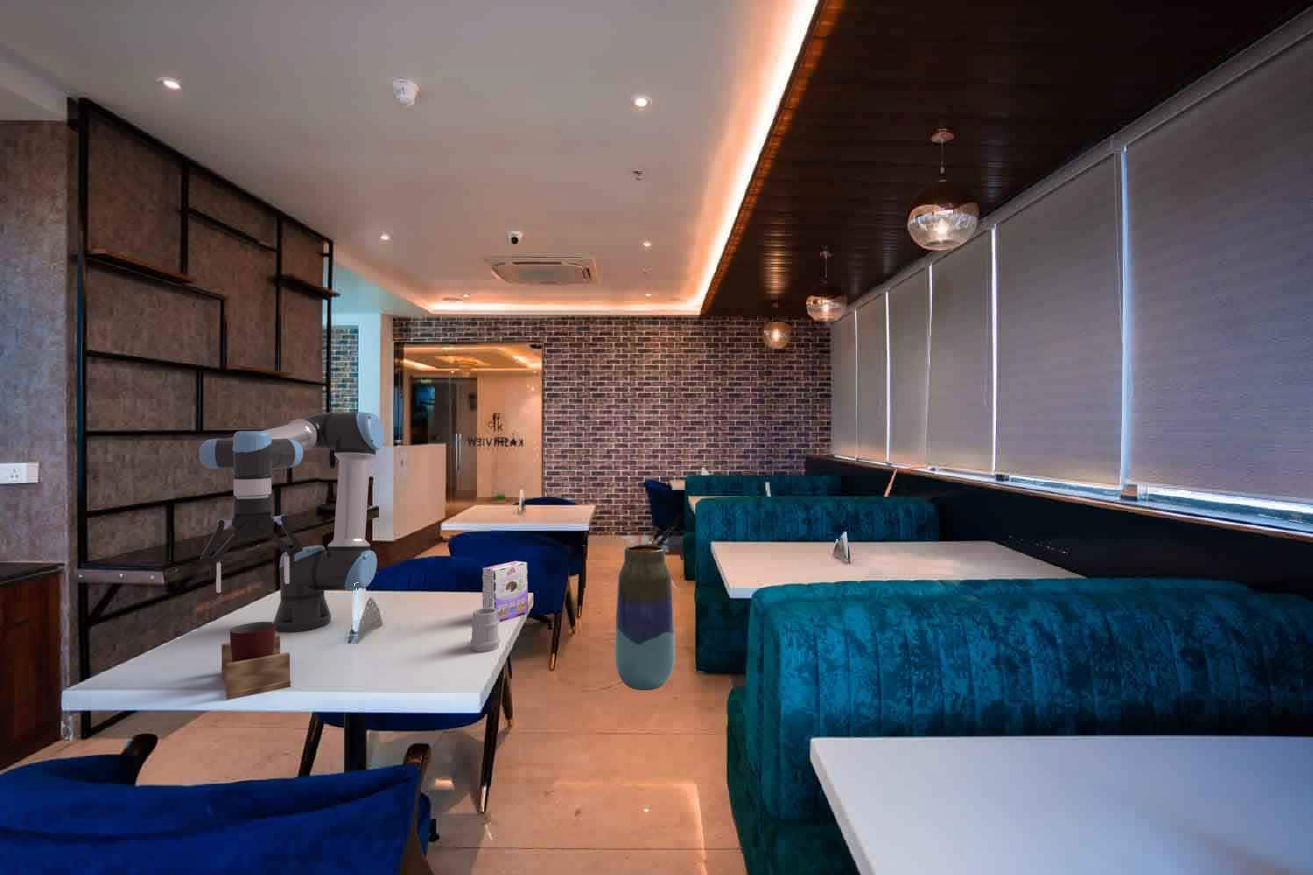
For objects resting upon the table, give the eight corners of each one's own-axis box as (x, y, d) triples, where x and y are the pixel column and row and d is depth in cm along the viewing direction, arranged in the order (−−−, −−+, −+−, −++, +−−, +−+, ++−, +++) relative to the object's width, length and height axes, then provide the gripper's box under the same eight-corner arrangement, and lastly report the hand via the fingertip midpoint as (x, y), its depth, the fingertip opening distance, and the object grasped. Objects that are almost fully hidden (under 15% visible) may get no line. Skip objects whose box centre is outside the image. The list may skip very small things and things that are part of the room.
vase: (602, 683, 147) (601, 547, 147) (647, 668, 157) (646, 540, 156) (642, 701, 137) (641, 556, 137) (687, 684, 146) (687, 548, 146)
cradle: (278, 661, 162) (278, 633, 162) (290, 686, 146) (290, 655, 146) (221, 672, 154) (221, 642, 154) (227, 699, 138) (227, 666, 138)
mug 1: (251, 663, 156) (250, 618, 156) (288, 662, 157) (288, 617, 157) (221, 682, 144) (221, 633, 144) (262, 681, 145) (262, 632, 145)
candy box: (516, 610, 208) (515, 560, 208) (528, 613, 205) (528, 562, 204) (481, 620, 197) (481, 567, 197) (494, 623, 193) (494, 569, 193)
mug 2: (466, 652, 168) (466, 606, 168) (480, 637, 180) (480, 595, 180) (494, 652, 168) (494, 607, 168) (507, 638, 180) (507, 595, 180)
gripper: (309, 492, 161) (310, 576, 161) (186, 498, 145) (187, 591, 146) (315, 494, 155) (315, 581, 155) (187, 501, 139) (188, 598, 140)
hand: (253, 586), depth 150 cm, fingers open, 13 cm apart
